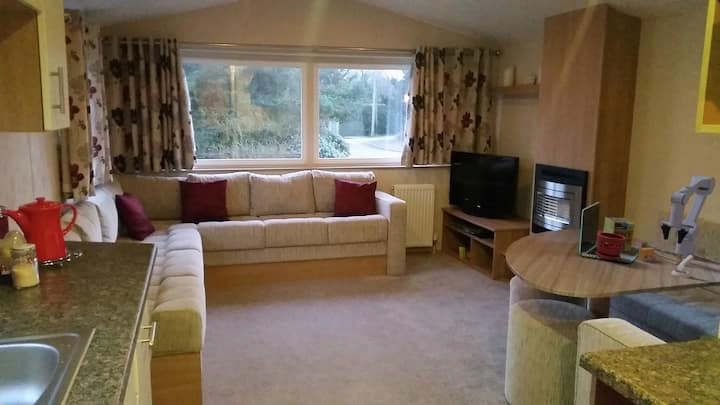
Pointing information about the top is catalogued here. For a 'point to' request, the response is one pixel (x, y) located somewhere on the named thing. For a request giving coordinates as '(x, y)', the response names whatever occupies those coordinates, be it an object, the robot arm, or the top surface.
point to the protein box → (620, 229)
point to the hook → (682, 268)
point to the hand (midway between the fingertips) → (672, 241)
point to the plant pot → (610, 245)
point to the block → (646, 253)
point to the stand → (665, 258)
